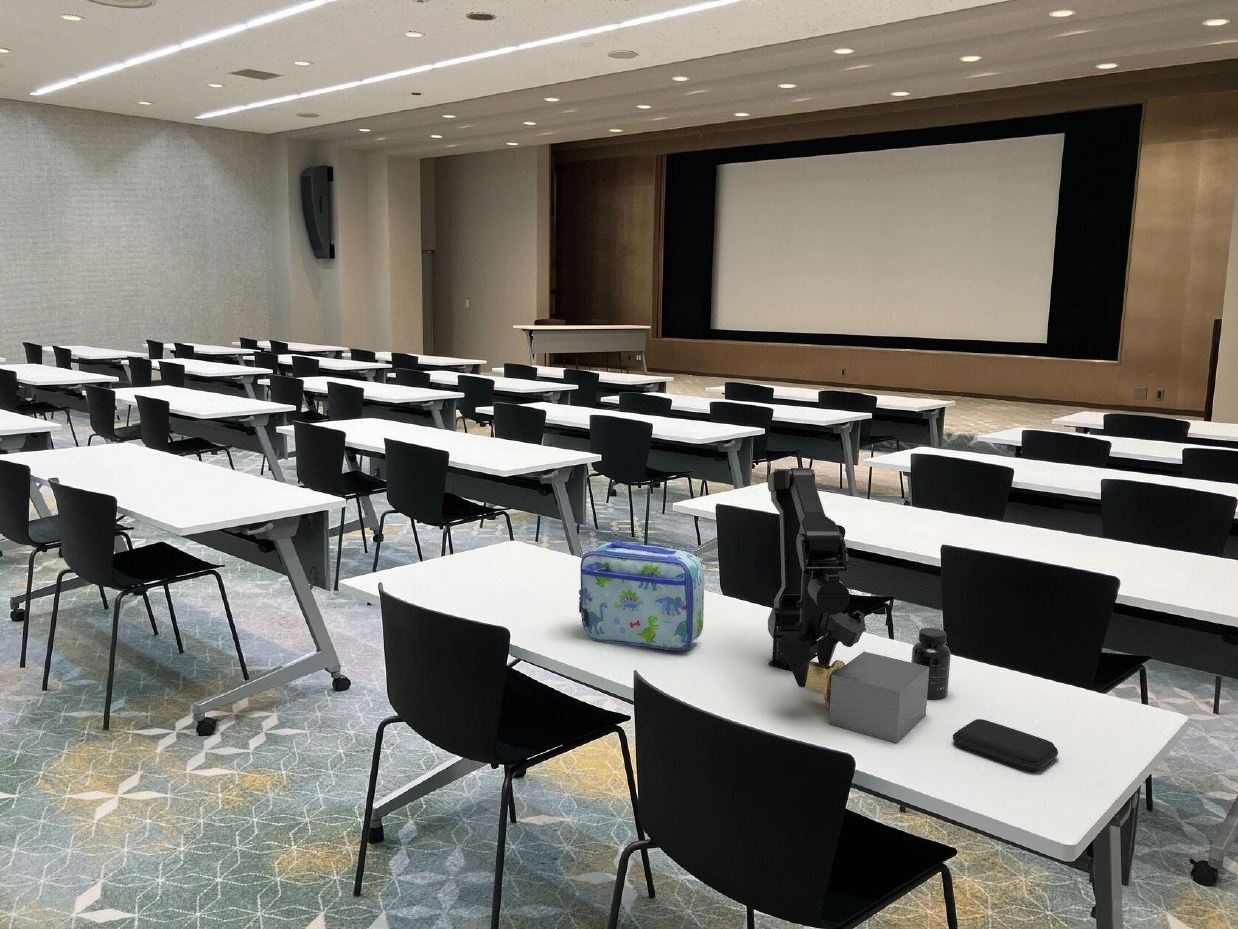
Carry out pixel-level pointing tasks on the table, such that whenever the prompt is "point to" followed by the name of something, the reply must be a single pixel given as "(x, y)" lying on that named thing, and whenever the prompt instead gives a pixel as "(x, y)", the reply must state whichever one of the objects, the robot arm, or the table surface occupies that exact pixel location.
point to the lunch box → (642, 596)
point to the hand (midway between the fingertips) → (813, 679)
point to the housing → (879, 696)
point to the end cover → (822, 677)
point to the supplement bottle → (933, 660)
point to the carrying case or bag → (1005, 745)
